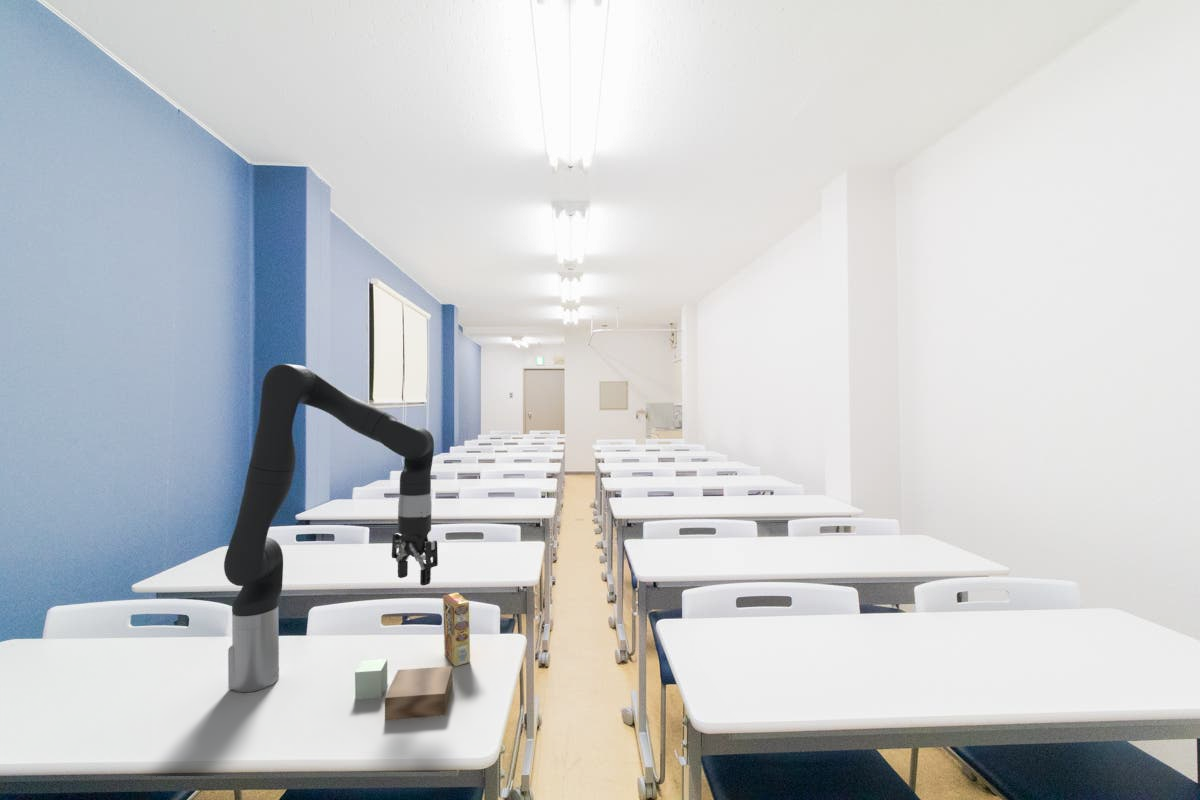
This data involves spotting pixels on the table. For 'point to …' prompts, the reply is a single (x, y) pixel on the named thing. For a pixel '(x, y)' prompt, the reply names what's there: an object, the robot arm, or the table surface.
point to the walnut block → (419, 693)
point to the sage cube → (371, 679)
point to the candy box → (456, 629)
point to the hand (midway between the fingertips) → (413, 580)
